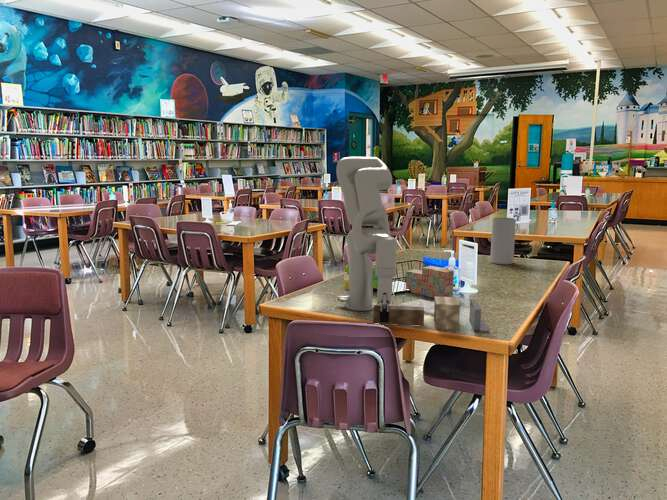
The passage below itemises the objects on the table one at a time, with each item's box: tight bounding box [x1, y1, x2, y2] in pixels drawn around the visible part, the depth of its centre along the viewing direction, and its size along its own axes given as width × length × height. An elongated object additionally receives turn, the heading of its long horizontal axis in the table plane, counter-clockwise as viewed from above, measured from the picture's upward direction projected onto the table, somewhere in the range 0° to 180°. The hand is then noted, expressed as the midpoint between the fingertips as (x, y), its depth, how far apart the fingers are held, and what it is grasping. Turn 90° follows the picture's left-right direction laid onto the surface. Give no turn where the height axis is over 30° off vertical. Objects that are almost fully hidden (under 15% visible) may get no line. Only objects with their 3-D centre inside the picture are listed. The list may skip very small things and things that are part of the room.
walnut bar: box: [372, 304, 425, 327], centre depth 211 cm, size 18×5×6 cm, turn 84°
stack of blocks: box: [405, 265, 455, 299], centre depth 253 cm, size 21×6×12 cm, turn 43°
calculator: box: [399, 298, 435, 317], centre depth 230 cm, size 13×20×2 cm, turn 41°
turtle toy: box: [344, 263, 378, 290], centre depth 264 cm, size 17×23×12 cm
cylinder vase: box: [490, 216, 517, 266], centre depth 327 cm, size 12×12×25 cm
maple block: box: [433, 296, 461, 331], centre depth 208 cm, size 8×11×9 cm
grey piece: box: [468, 298, 490, 333], centre depth 207 cm, size 5×14×8 cm, turn 174°
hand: (384, 318), depth 211 cm, fingers open, 7 cm apart
